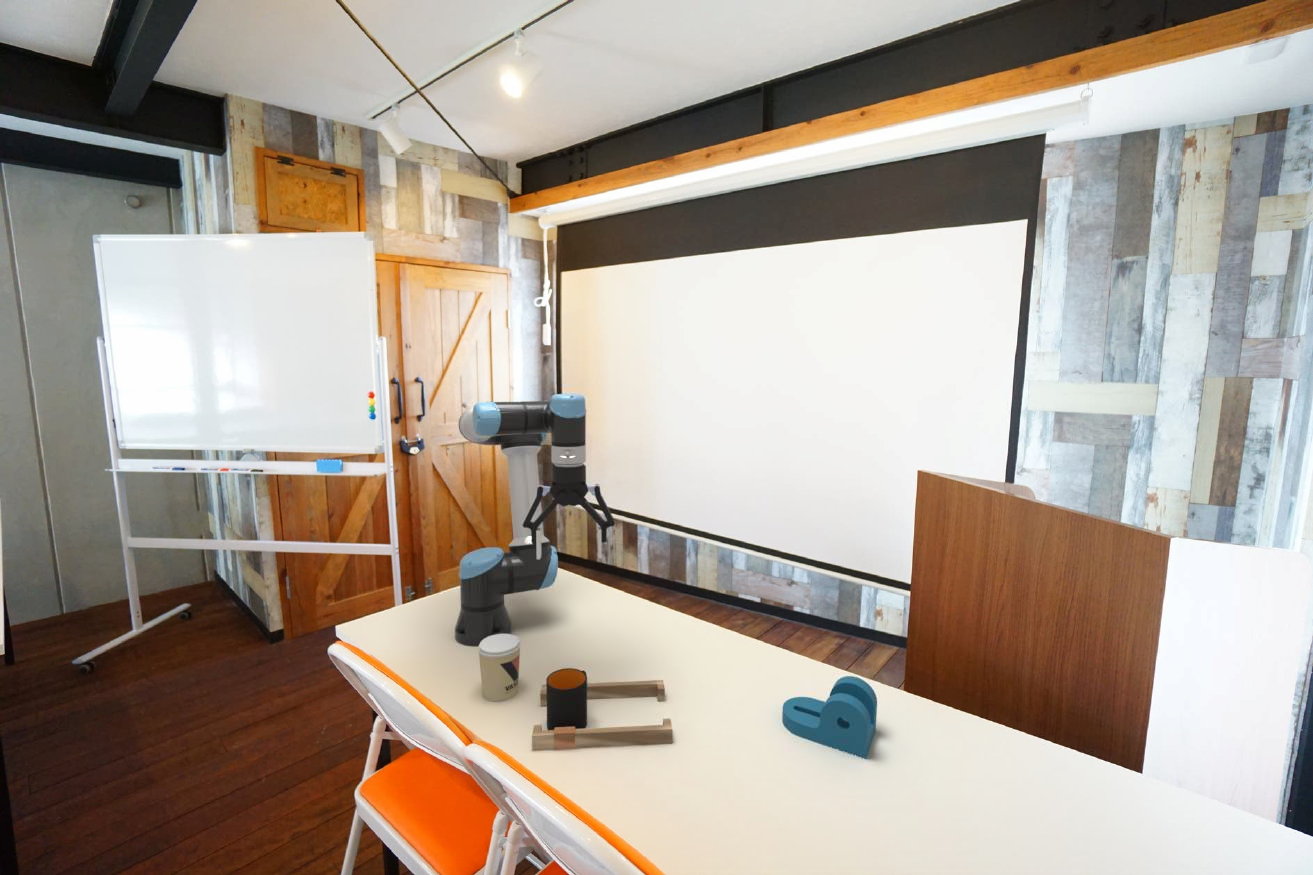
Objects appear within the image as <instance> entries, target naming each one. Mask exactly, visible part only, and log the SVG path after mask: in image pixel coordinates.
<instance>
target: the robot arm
mask: <svg viewBox="0 0 1313 875" xmlns="http://www.w3.org/2000/svg"><path fill="white" fill-rule="evenodd" d="M586 414H587V408H586V398H585V396H584V395H583V394H576V393H559V394H558V393H556V394H553V395H552V396H551V397H550V399H546V400H540V401H539V400H535V401H533V400H531V401H530V400H529V401H485V402H482V401H481V402H477V403H475V404H474V405H473V407H472V408H469V409H466V411H464V412H463V413H462V414H461V415H460V418H459V420H458V430H459V433H460V434H461V435H462V437H463V438H464V439H465V440H466V441H469V442H471V443H473V444H477V445H483V446H500V450H501V454H504V455H505V457H506V459H507V461H506V462H507V472H508V484H509V486H508V487H509V497H510V498H509V499H510V510H511V511H510V512H511V521H512V522H511V523H512V534H513V539H512V541H511V542H509V544H508V551H505V552H504V550H503V549H502V548H500V547H498V546H497V547H495V546H494V547H491V546H489V547H482V548H479V549H475V550H472V551H470V552H468V553H467V554H465V555H464V556H462V558H461V560H460V561H459V573H458V577H459V586H460V587H459V589H460V590H459V592H460V611H459V614H458V618H457V621H456V622H455V623H456V624H455V627H454V638H455V640H456V641H457V642H458V643H460V644H462V645H467V646H472V647H473V646H479V644H480V642H481V641H482V640H483V639H485V638H487V637H489V636H492V635H496V634H511V633H512V621H511V618H510V615H509V613H508V610H507V607H506V604H505V596H507V595H512V594H518V593H524V592H525V593H526V592H530V591H531V592H532V591H540V590H542V589H547V588H550V587H551V586H553V585H554V583H555V582H556V579H557V576H558V575H557V574H558V569H559V557H558V554H557V553H558V550H557V549H556V547H555V546H554V545H550V544H551V543H550V539H549V538H547V537H546V536H545V535H544V524H543V522H544V521H545V519H546V518H548V516H549V515H550V514H551V512H552V511H553V510H554V509H555V508H556V507H557V506H558V505H559V506H561V507H566V506H567V507H568V506H571V507H577V506H578V505H580V506H581V507H582V508H583V510H585V511H586V513H587V514H589V516H590V517H591V518H592V520H594V522H595V523H596V524H597V525H598V527H597V551H598V552H597V555H598V556H597V558H598V559H602V558H603V557H602V555H603V554H602V548H603V547H602V543H604V544H605V543H607V541H608V536H607V533H608V528H611V527H614V526H615V519H614V516H613V514H612V513H611V511H610V509H609V507H608V505H607V503H606V501H605V500H604V497H603V496H602V495H603V494H602V493H601V486H600V484H599V483H596V484H594V485H588V484H587V467H586V464H585V463H586V461H587V455H586V454H587V444H586V437H587V436H586V434H587V433H586V430H587V429H586V426H587V425H586V424H587V423H586V422H587V421H586V420H587V418H586V416H587V415H586ZM548 434H550V436H551V437H550V438H551V439H550V440H551V442H550V443H551V444H550V445H551V447H550V448H551V450H550V451H551V454H550V456H551V463H552V464H553V465H552V466H551V485H550V486H546V485H544V484H540V477H539V476H540V474H539V466H538V456H537V455H538V453H539V452H540V451H541V449H542V444H543V443H545V442H546V441H547V435H548ZM588 492H589V493H590V494H591V495H592V496H594V497H595V500H596V502H597V503H598V505H599V507H600V510H601V511H602V513H603V515H604V517H605V519H606V520H605V519H604V518H603V517H602V516H601V515H600V514H599V513H598V511H597V510H596V509H595V508H594V507H593V506H592V505H591V504H590V502H589V501H588V500H587V498H586V495H587V494H588ZM548 493H550V495H551V496H552V497H553V499H552V500H551V501H550V502H549V504H548V505H547V506H546V508H544V510H543V509H542V502H541V501H542V500H543V497H545V496H546V495H547V494H548ZM542 510H543V511H542Z"/></svg>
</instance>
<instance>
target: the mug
mask: <svg viewBox="0 0 1313 875" xmlns="http://www.w3.org/2000/svg"><path fill="white" fill-rule="evenodd" d="M587 675H588V674H587V672H586V671H585V670H581V669H578V668H573V667H571V668H570V667H567V668H566V667H565V668H561V669H557V670H554V671H552V672H551V673H550V674H549V675H548V676H547V677H546V684H545V685H546V692H547V706H546V729H547V730H554V729H555V727H575V729H585V728H587V725H588V699H587V683H588V676H587Z"/></svg>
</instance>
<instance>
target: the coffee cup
mask: <svg viewBox="0 0 1313 875" xmlns="http://www.w3.org/2000/svg"><path fill="white" fill-rule="evenodd" d="M520 649H521V641H520V639H519V637H518V636H516V635H515V634H511V633H510V634H496V635H492V636H489V637H487V638H485V639H483V640H482V641H481V642H480V644H479V645H478V647H477V652H478V657H479V658H478V659H479V668H480V669H479V670H480V679H481V688H482V695H483V698H484V699H486V700H487V701H490V702H503V701H506V700H510V699H511V698H513V697H515V696H516V694H518V688H519V677H520V676H519V675H520V674H519V673H520V657H521V656H520V654H521V652H520V651H521V650H520Z"/></svg>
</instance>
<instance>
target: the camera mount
mask: <svg viewBox="0 0 1313 875" xmlns="http://www.w3.org/2000/svg"><path fill="white" fill-rule="evenodd" d="M832 686H833V687H832V689H831V691H830V692H829V697H827V699H826V701H824V700H820V699H818V698H817V699H816V698H813V697H808V696H796V697H791V698H789V699H787V700H786V701H784V702H783V704H782V712H781V713H782V718H781V719H782V725H783V726H784V727H785V729H786V730H787V731H788V732H789V733H790V734H793V735H794V736H796V737H799V738H801V739H805V740H808V741H811V742H814V743H816V744H820V745H822V746H826V747H828V748H831V747H832V748H831V749H834V750H837V749H838V751H841V752H843V751H844V752H843V753H846V752H847V753H846V754H849V755H852V754H853V755H852V756H855V755H856V756H855V757H857V756H858V758H860V757H861V759H863V758H864V760H867V757H868V755H869V751H870V748H871V745H872V743H873V742H872V741H873V739H874V736H875V733H876V730H877V714H878V713H877V712H878V698H877V695H876V693H875V690H874V689H873V688H872V686H871V685H870V684H869V683H867V681H865V679H862V678H860V677H857V676H854V675H853V676H852V675H845V676H843V677H840V678H839V679H837V680H836V682H835V683H834V685H832Z"/></svg>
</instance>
